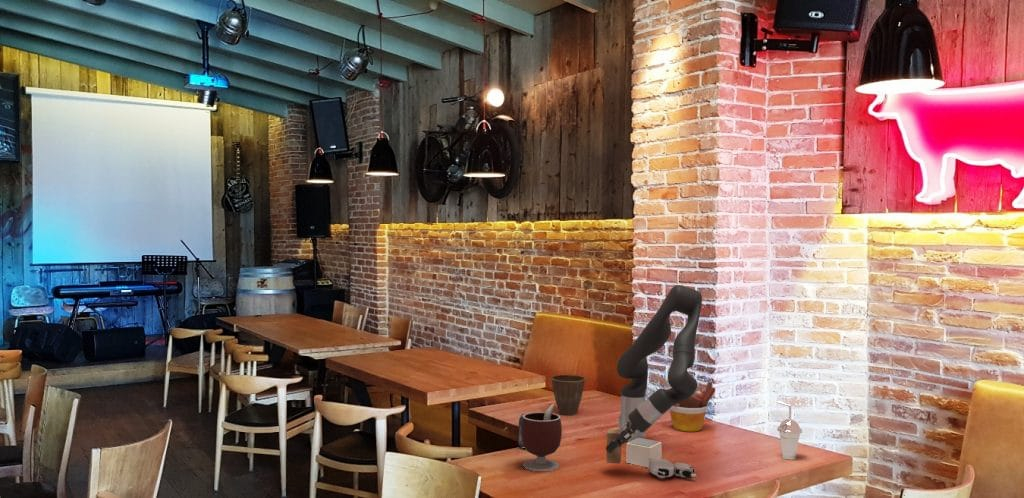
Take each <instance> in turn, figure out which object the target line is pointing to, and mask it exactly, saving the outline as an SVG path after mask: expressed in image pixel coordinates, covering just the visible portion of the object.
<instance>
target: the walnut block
mask: <svg viewBox="0 0 1024 498" xmlns="http://www.w3.org/2000/svg"><path fill="white" fill-rule="evenodd" d="M606 431H607V432H606V447H607V446H608V445H609V444H610V443H611V442H612V441H613V440H614V439H615V438H616V437H618V434H619V432H620V430H619V429H612V428H608V429H607V430H606ZM621 435H622V434H621ZM619 441H620V442H621V441H622V440H621V439H619ZM621 460H622V445H621V446H620V447H619V446H618V447H616V448H615V449H614V450H613V451H612V452H611V453H609V452H608V451H607V450H606V463H607V464H617V465H618V464H621V462H622V461H621Z"/></svg>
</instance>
